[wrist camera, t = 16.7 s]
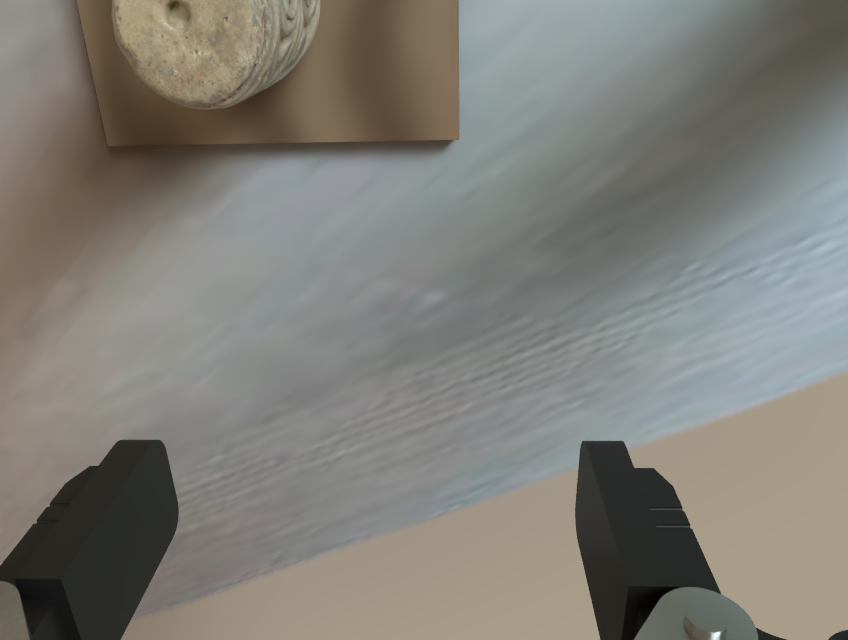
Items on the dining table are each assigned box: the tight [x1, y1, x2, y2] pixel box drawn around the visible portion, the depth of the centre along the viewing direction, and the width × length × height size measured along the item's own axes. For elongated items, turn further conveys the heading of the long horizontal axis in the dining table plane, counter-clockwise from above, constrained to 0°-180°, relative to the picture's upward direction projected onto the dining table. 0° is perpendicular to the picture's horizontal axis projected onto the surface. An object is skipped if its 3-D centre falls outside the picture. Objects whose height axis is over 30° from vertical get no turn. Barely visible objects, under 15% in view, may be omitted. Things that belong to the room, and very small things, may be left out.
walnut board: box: [76, 0, 459, 146], centre depth 37 cm, size 20×14×2 cm
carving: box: [111, 0, 320, 109], centre depth 31 cm, size 6×8×12 cm
